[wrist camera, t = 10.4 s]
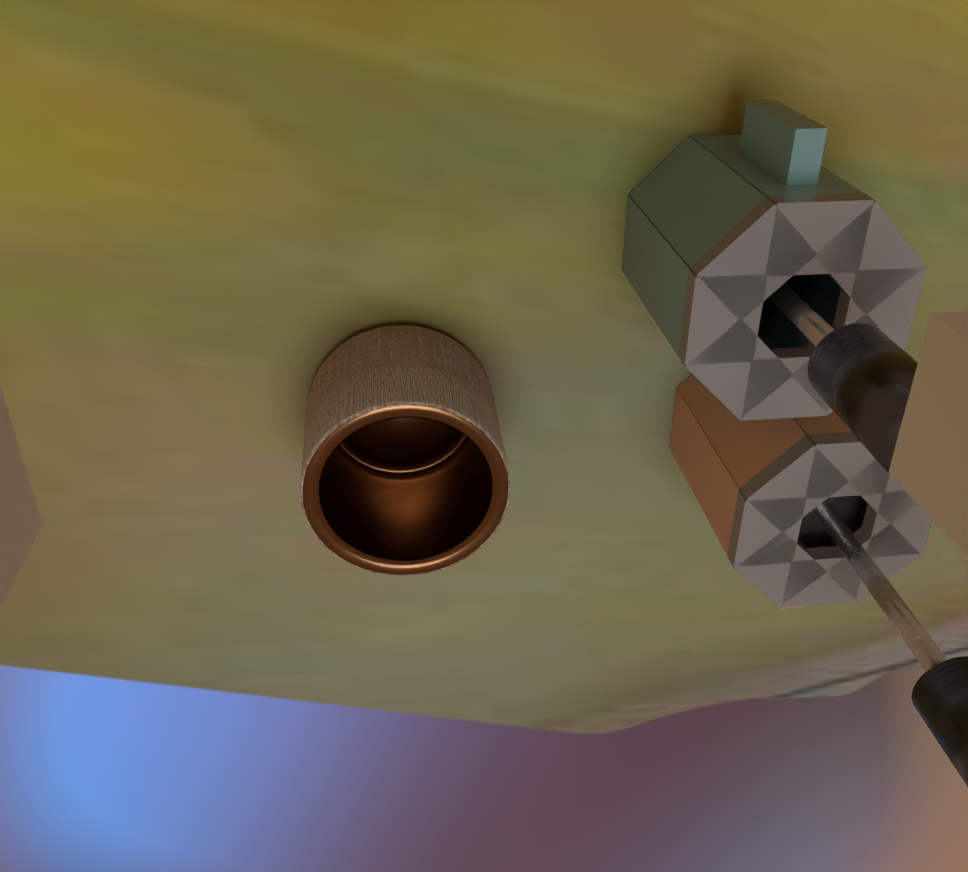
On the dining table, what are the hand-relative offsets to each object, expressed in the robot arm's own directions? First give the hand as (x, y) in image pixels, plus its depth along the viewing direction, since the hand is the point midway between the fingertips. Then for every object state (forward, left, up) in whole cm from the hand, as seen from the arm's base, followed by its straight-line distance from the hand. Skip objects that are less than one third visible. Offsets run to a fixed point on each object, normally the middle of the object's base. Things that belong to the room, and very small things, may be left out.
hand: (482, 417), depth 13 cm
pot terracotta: (+23, +21, -37) cm, 48 cm away
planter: (+20, -1, -37) cm, 42 cm away
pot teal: (+9, +17, -37) cm, 41 cm away
